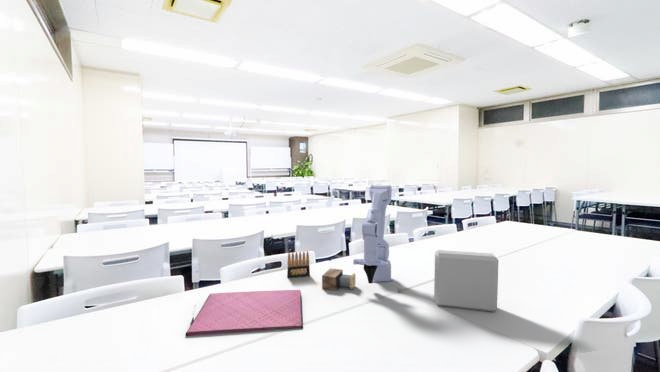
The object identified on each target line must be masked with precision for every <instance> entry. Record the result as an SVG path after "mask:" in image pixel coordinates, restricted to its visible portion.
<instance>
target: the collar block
mask: <svg viewBox="0 0 660 372" xmlns="http://www.w3.org/2000/svg"><path fill="white" fill-rule="evenodd" d="M343 273H344V272H343V269H339V268H329V269H327V271H325V273H324V274H322V275H321V288H322V289H323V290H330V291H337V290H339V288H340V287H341V285H339V276H340V275H341V274H343Z"/></svg>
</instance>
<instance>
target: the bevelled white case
mask: <svg viewBox="0 0 660 372" xmlns="http://www.w3.org/2000/svg"><path fill="white" fill-rule="evenodd" d="M433 283H434V285H433V287H434V289H433V290H434V292H433V293H434V295H433V297H434V303H435V304H436V306H439V307H449V308H458V309H467V310H477V311H482V312H483V311H484V312H495V311H496V310H497V309H498V293H499V292H498V287H499V285H498V284H499V259H498V258H497V257H496V256H495V255H494V254H493V253H492V252H491V253H490V252H489V253H487V252H473V251H455V250H441V249H438V250H436V251H435V252H434V282H433Z"/></svg>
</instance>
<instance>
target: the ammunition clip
mask: <svg viewBox="0 0 660 372" xmlns="http://www.w3.org/2000/svg"><path fill="white" fill-rule="evenodd" d="M309 256H310V255H309V251H308V250H307V251H306V253H305V251H302V253H301V251H299V253H298V252H297V251H296V252H295V254H294V252H293V251H292V253H290V252H288V254H287V271H286V272H287V273H286V274H287V276H286V277H287V278H288V279H292V278H306V277H311V271H310V269H311V268H310V257H309Z"/></svg>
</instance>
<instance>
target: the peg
mask: <svg viewBox="0 0 660 372" xmlns="http://www.w3.org/2000/svg"><path fill="white" fill-rule="evenodd" d="M339 285H341V286H343V287H349V289H350V290H353V289H354V288H355V286H356V273H353V274H341V275H340V276H339ZM341 286H340V287H341Z"/></svg>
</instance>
